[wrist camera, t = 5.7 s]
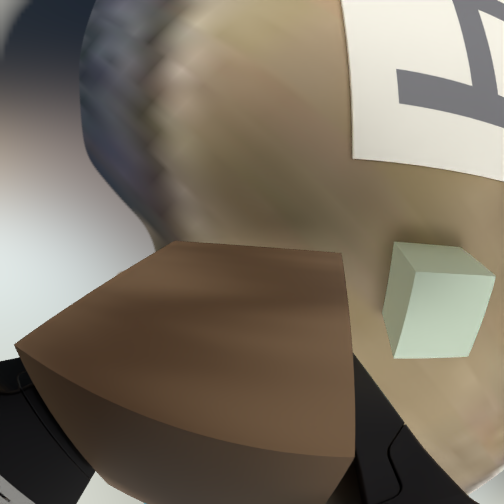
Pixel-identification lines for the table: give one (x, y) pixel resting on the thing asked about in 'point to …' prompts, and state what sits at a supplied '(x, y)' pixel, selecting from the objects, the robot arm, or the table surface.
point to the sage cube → (434, 300)
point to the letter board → (428, 83)
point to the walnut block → (207, 375)
